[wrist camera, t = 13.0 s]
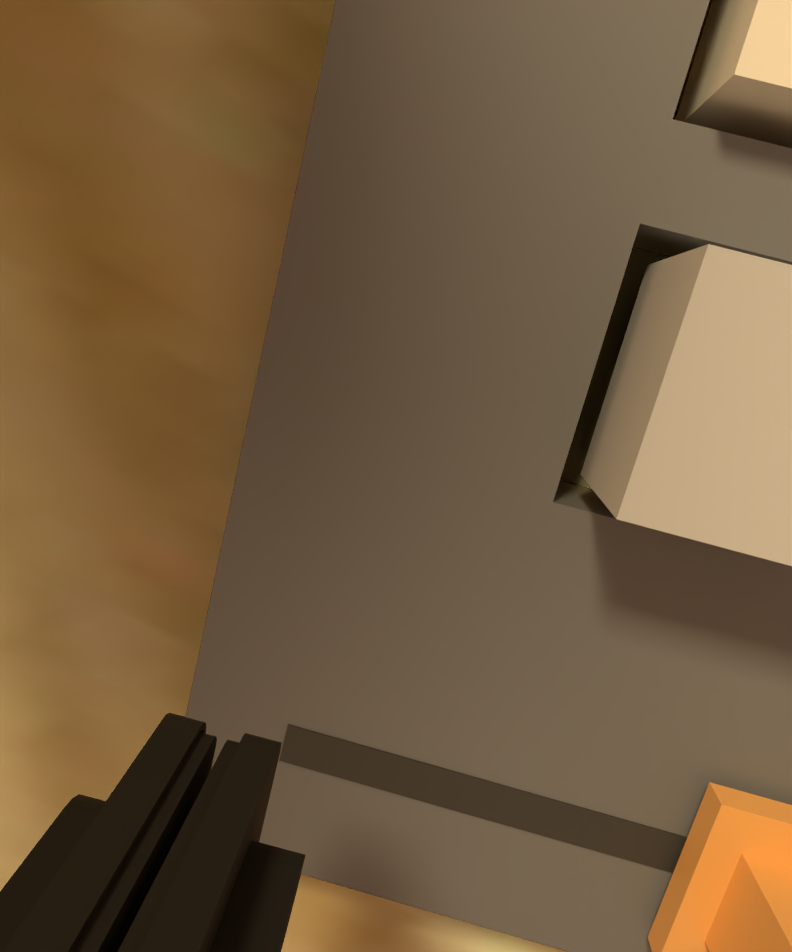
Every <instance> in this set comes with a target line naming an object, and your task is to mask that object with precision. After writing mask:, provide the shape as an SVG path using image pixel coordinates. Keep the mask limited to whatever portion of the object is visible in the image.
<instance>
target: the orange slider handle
mask: <svg viewBox="0 0 792 952" xmlns="http://www.w3.org/2000/svg"><path fill="white" fill-rule="evenodd" d="M648 940H649V943H650V947H651V950H652V952H792V805H789V804H786V803H782V802H779V801H775V800H772V799H768V798H764V797H761V796H757V795H754V794H750V793H747V792H743V791H739V790H736V789H732V788H729V787H725V786H722V785H718V784H715V783H711V782H709V784H708V787H707V789H706V792H705V794H704V797H703V799H702V802H701V804H700V807H699V809H698V812H697V814H696V817H695V819H694V822H693V825H692V827H691V830H690V832H689V835H688V837H687V840H686V842H685V845H684V847H683V850H682V852H681V855H680V857H679V860H678V862H677V865H676V867H675V870H674V872H673V875H672V877H671V880H670V882H669V885H668V887H667V890H666V892H665V895H664V897H663V900H662V902H661V905H660V907H659V910H658V912H657V915H656V917H655V920H654V922H653V925H652V927H651V930H650V932H649V935H648Z"/></svg>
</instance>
